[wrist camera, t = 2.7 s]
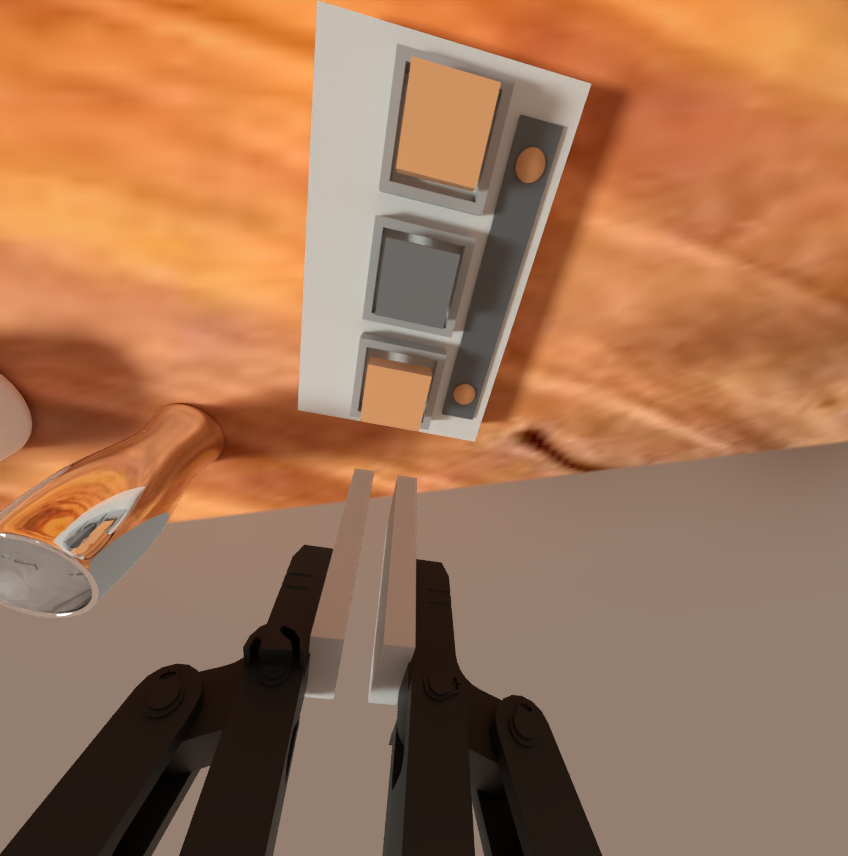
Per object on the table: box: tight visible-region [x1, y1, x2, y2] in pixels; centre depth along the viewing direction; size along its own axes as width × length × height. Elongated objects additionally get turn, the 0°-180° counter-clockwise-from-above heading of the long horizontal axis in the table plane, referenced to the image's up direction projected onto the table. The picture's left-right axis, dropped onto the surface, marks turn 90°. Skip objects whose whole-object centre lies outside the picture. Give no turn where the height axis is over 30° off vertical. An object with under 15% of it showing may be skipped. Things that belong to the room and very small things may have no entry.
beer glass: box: [0, 404, 225, 618], centre depth 25 cm, size 7×7×15 cm
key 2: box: [396, 56, 501, 192], centre depth 17 cm, size 4×4×2 cm
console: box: [298, 0, 591, 441], centre depth 24 cm, size 22×14×4 cm, turn 168°
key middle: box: [375, 237, 460, 329], centre depth 21 cm, size 4×4×2 cm
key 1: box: [360, 356, 432, 431], centre depth 24 cm, size 4×4×2 cm
